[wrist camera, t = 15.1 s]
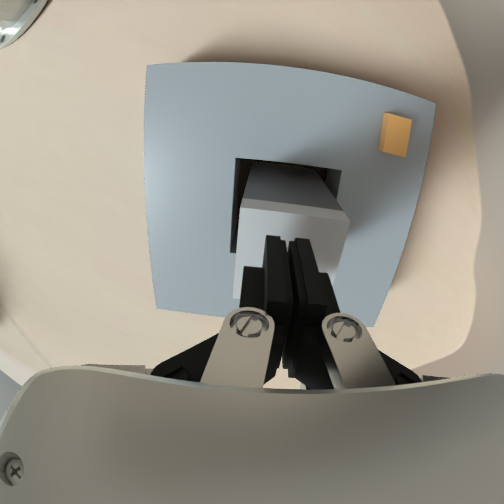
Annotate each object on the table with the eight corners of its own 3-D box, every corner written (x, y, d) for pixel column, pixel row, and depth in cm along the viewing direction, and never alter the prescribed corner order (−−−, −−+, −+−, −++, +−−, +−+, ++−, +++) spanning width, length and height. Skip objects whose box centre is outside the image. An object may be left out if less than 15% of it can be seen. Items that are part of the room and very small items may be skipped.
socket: (168, 71, 17) (141, 63, 13) (409, 101, 17) (442, 103, 13) (170, 280, 26) (153, 314, 22) (362, 298, 26) (375, 333, 21)
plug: (252, 161, 20) (240, 207, 12) (314, 169, 20) (350, 221, 12) (246, 218, 23) (232, 298, 14) (304, 225, 23) (325, 307, 14)
